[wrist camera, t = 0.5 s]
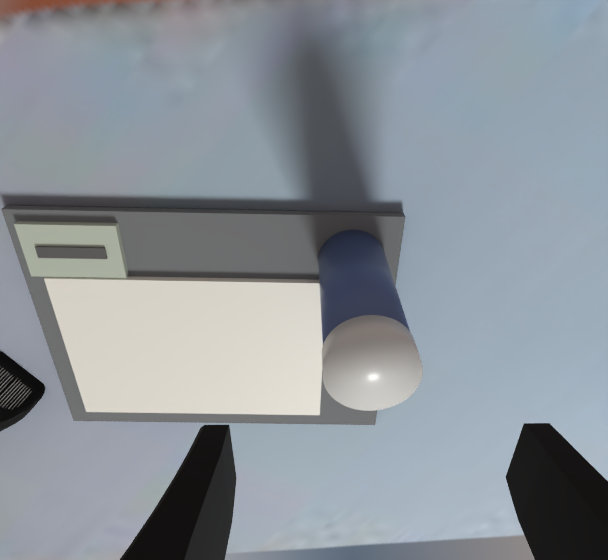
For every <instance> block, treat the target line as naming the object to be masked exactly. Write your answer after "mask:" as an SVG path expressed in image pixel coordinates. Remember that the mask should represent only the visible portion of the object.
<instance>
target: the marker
mask: <svg viewBox="0 0 608 560" xmlns="http://www.w3.org/2000/svg"><path fill="white" fill-rule="evenodd" d="M318 266H319V285H320V303H321V321H322V340H323V347H322V370H323V382H324V386H325V388H326V390H327V392H328V393H329V394H330V396H331V397H332V398H333V399H335V400H336V401H337V402H339V403H340V404H342V405H344V406H346V407H349V408H352V409H356V410H364V411H375V410H382V409H386V408H389V407H392V406H395V405H397V404H399V403H401V402H403V401H404V400H406V399H407V398H408V397H409V396H411V395H412V394H413V393H414V391H415V390H416V389H417V387H418V386H419V384H420V382H421V379H422V374H423V367H422V362H421V359H420V356H419V353H418V350H417V347H416V344H415V341H414V338H413V336H412V334H411V333H410V331H409V327H408V324H407V321H406V318H405V315H404V312H403V309H402V305H401V302H400V299H399V296H398V293H397V290H396V287H395V284H394V280H393V277H392V274H391V271H390V268H389V265H388V262H387V259H386V255H385V252H384V249H383V247H382V245H381V243H380V242H379V241H378V239H377V238H375V237H374V236H373V235H371V234H369V233H367V232H365V231H361V230H345V231H342V232H339V233H337V234H335V235H333V236H332V237H330V238H329V239H328V240H327V241H326V242H325V243H324V244H323V246H322V248H321V250H320V252H319V257H318Z"/></svg>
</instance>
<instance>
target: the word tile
mask: <svg viewBox="0 0 608 560" xmlns="http://www.w3.org/2000/svg"><path fill="white" fill-rule="evenodd" d="M14 226H15V229H16V232H17V235H18V238H19V241H20V244H21V247H22V250H23V253H24V256H25V259H26V262H27V265H28V268H29V271H30V274H31V276H39V277H97V278H127V276H128V275H129V274H128V269H127V264H126V259H125V254H124V249H123V244H122V239H121V235H120V230H119V225H118V223H92V222H38V221H17V222H16V223H15V224H14Z"/></svg>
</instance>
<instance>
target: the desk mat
mask: <svg viewBox="0 0 608 560" xmlns="http://www.w3.org/2000/svg"><path fill="white" fill-rule="evenodd" d="M1 210H2V212H3V215H4V218H5V221H6V224H7V227H8V230H9V233H10V236H11V239H12V242H13V245H14V248H15V250H16V253H17V256H18V259H19V262H20V265H21V268H22V271H23V274H24V277H25V280H26V283H27V286H28V288H29V291H30V294H31V297H32V300H33V303H34V306H35V309H36V312H37V315H38V318H39V321H40V324H41V326H42V329H43V332H44V335H45V338H46V341H47V344H48V347H49V350H50V353H51V356H52V359H53V362H54V364H55V367H56V370H57V373H58V376H59V379H60V382H61V385H62V388H63V391H64V394H65V397H66V400H67V402H68V405H69V408H70V411H71V414H72V417H73V420H74V421H131V422H203V423H274V424H346V425H375V422H376V415H377V410H375V411H364V410H356V409H352V408H349V407H346V406H344V405H342V404H340V403H339V402H337V401H336V400H335V399H333V398H332V397H331V396H330V394H329V393H328V392H327V390H326V388H325V386H324V382H323V370H322V383H321V401H320V415H265V414H194V413H124V412H86V410H85V407H84V403H83V400H82V397H81V394H80V391H79V388H78V385H77V381H76V378H75V375H74V372H73V369H72V366H71V363H70V359H69V356H68V353H67V350H66V347H65V344H64V341H63V337H62V334H61V331H60V328H59V325H58V322H57V318H56V315H55V312H54V309H53V306H52V303H51V300H50V296H49V293H48V290H47V287H46V284H45V281H44V278H45V277H39V276H31V274H30V271H29V268H28V265H27V262H26V259H25V256H24V253H23V250H22V247H21V244H20V241H19V238H18V235H17V232H16V229H15V226H14V224H15V223H16V222H17V221H38V222H92V223H118V225H119V230H120V235H121V239H122V244H123V249H124V254H125V259H126V264H127V269H128V274H129V275H128V276H135V277H192V278H250V279H307V280H319V266H318V257H319V252H320V250H321V248H322V246H323V244H324V243H325V242H326V241H327V240H328V239H329V238H330V237H332V236H333V235H335V234H337V233H339V232H342V231H345V230H361V231H365V232H367V233H369V234H371V235H373V236H374V237H375V238H377V239H378V241H379V242H380V243H381V245H382V247H383V249H384V252H385V255H386V259H387V262H388V265H389V268H390V271H391V274H392V277H393V280H394V284H396V277H397V270H398V263H399V256H400V249H401V242H402V236H403V229H404V222H405V215H404V213H382V212H329V211H276V210H224V209H171V208H118V207H66V206H13V205H7V206H5V207H4V208H2V209H1Z"/></svg>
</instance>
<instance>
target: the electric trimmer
mask: <svg viewBox="0 0 608 560" xmlns="http://www.w3.org/2000/svg"><path fill="white" fill-rule="evenodd" d="M44 391H45V387H44V385H43V383H41V382H40V381H39V380H38V379H36V378H35V377H34V376H33V375H31V374H30V373H29V372H27V371H26V370H25V369H24V368H22V367H21V366H20V365H18V364H17V363H16V362H15V361H13V360H12V359H11V358H10V357H8V356H7V355H6V354H4V353H3V352H0V431H2V430H4V429H6V428H8V427H9V426H11V425H13V424H15V423H17V422H18V421H20V420H21V419H22V418H24V417H25V416H26V415H27V414H28V413H29V412H30V411H31V409H32V408H33V407H34V406H35V405H36V404H37V402H38V401H39V400H40V399H41V398H42V396H43V394H44Z"/></svg>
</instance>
